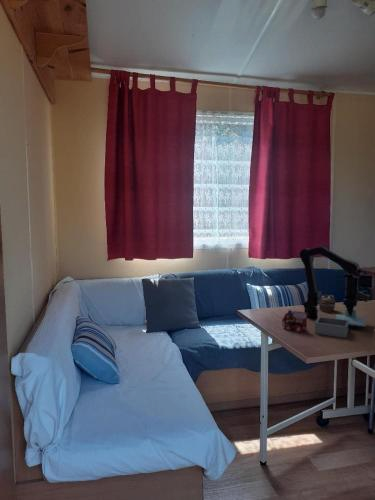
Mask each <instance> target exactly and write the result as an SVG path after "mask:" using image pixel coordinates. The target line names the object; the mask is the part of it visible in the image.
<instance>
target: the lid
mask: <svg viewBox="0 0 375 500" xmlns="http://www.w3.org/2000/svg"><path fill="white" fill-rule="evenodd" d="M334 319H342V320H349V325H348V326H357V327H364V328H365V327H366V321H367V317H361V316H357V310H356V309H353V312H352V316H350V315H349V313H348V311H347V308H345V314H338V313H337V314H335V317H334Z"/></svg>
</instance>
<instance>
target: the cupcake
mask: <svg viewBox="0 0 375 500" xmlns="http://www.w3.org/2000/svg"><path fill="white" fill-rule="evenodd" d="M334 297H335V296H334V295H332V294H328V293H326V294H322V300H321V302H320V303H319V304H318V306H319V311H321V312H324V313H333V312H334V311H335V306H336V299H335V298H334Z"/></svg>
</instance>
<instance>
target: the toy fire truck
mask: <svg viewBox="0 0 375 500" xmlns="http://www.w3.org/2000/svg"><path fill="white" fill-rule="evenodd" d="M307 317H308V314H307V313H306V312H305V311H296V310H294V311H293V310H291V309H289V310H288V311H287V312H286V313H285V314H284V316H283V318H282V321H281V322H282V323H281V324H282V325H281V326H282V327H284V330H286V331H290V332H291V331H293V329H294V332H296V333H303V331H305V330H307V327H308V326H307V322H308V321H307V319H308V318H307Z"/></svg>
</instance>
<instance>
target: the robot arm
mask: <svg viewBox="0 0 375 500" xmlns="http://www.w3.org/2000/svg"><path fill="white" fill-rule="evenodd" d="M316 255H321V256H323V257H325V258H327V259H328V260H329V261H332V262H333V263H335V264H337V265H338V266H340V267H341V269H343V270H344V271H345V273H344V274H343V275H342V276H341V277H342V278H345V290H344V291H345V296H344V299H343V301H342V305H344V306H345V309H347V311H348V313H349V315H350V316H352V312H353V310H354V308H355V307H357V305H358V300H359V299H360V300H361V301H364V302H366V303H367V302H368V300H369V298H370V296H371V295H370V294H368V291H367V290H363V291H360V290H359V288H358V287H360V288H365V289H374V288H375V278H374V274H364V273H363V271H362V269H361V268H360V264H359V263H358V262H356V261H353V260H351V259H347V258H344V257H342V256H340V255H339V254H337V253H335V252H333V251H332V250H330V249H328V248H327V247H325V246H324V245H323V246H317V247H315V248H309V247H308V248H303V249H301V250H300V251H299V258H300V259H301V262H302V263H303V265H304V270H305V277H306V283H307V288H308V290H307V297H306V298H307V300H306V301H305V302H304V303H303V304H302V305H303V308H304V312H306V313H307V314H308V317H307V319H309V320H317V319H318V317H319V310H318V306H319V303H320V302H321V300H322V296H323V294H322V291H321V290H320V291H319V290H318V287H317V281H316V276H315V270H314V258H315V256H316Z"/></svg>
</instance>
